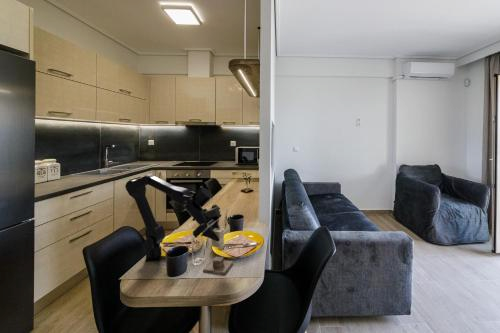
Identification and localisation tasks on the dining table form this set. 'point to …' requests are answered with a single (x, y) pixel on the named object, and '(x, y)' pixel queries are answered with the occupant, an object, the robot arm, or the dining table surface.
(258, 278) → the dining table surface
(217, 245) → the birch block
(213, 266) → the walnut stand
